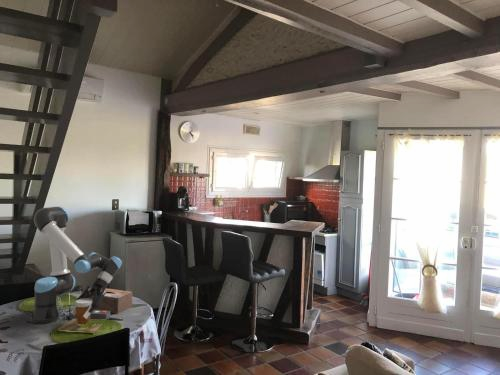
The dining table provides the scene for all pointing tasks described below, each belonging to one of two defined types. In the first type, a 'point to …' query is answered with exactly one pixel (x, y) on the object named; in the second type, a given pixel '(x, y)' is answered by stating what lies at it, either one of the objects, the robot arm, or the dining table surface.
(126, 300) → the tissue box cover
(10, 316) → the dining table surface
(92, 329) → the walnut board
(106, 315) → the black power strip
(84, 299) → the disposable coffee cup
